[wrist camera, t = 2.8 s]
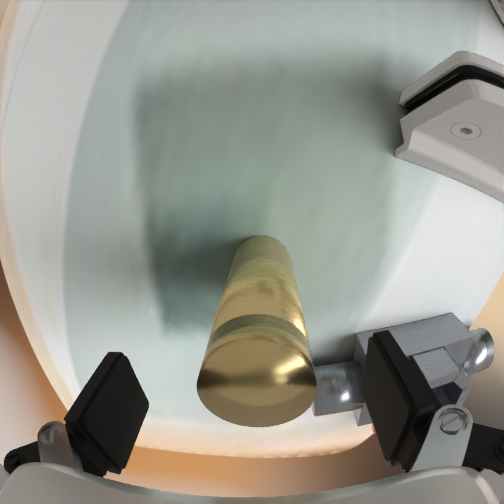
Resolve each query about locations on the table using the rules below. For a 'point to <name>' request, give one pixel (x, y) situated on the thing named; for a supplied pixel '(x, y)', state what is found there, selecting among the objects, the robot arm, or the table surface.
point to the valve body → (422, 353)
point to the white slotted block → (458, 122)
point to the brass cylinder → (258, 342)
